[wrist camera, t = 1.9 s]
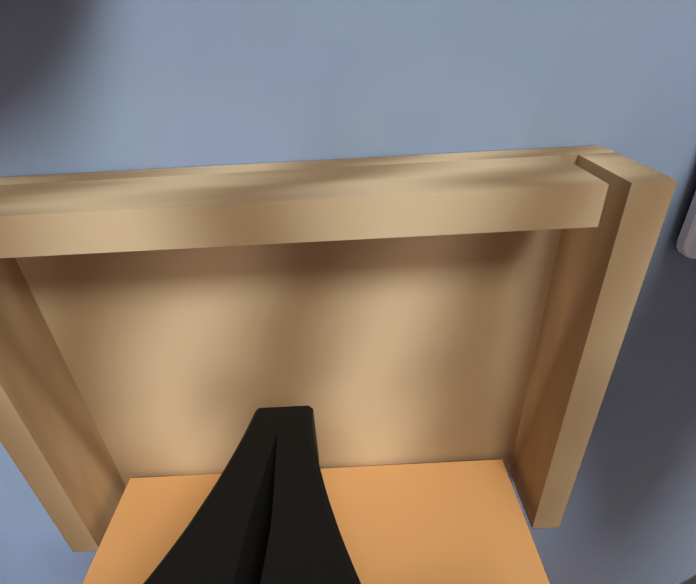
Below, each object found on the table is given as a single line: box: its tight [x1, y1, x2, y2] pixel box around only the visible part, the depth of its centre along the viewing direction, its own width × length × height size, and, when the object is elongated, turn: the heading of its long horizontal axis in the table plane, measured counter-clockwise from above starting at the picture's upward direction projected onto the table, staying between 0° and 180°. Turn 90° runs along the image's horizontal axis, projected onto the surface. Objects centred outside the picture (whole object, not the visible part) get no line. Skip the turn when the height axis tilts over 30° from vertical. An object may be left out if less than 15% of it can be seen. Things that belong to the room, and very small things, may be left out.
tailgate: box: [82, 459, 550, 584], centre depth 16 cm, size 15×2×5 cm, turn 93°
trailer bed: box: [0, 145, 677, 552], centre depth 14 cm, size 18×13×3 cm
